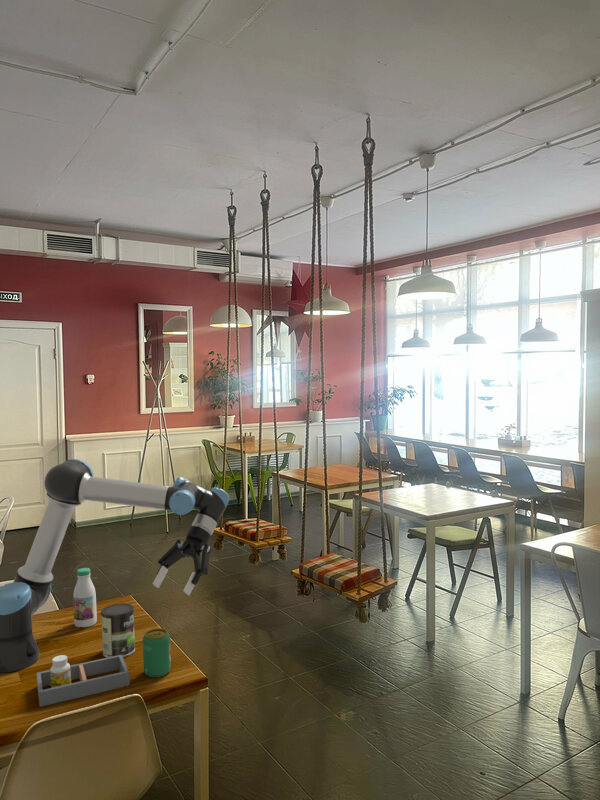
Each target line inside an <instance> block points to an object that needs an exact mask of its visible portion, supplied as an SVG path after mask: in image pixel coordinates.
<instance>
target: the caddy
mask: <svg viewBox="0 0 600 800" xmlns="http://www.w3.org/2000/svg"><path fill="white" fill-rule="evenodd" d="M70 670H71V681H74V680H78V679H79V681H76V682H71V684H67V685H62V686H58V687H54V688H51V687H50V688H46V689H43V687H47V686H51V676H50V669H48V670H43V671H38V672H36V683H37V684H36V685H37V686H36V687H37V695H38V703H39V704H38V705H39V707H40V708H41V707H44V706H49V705H53V704H58V703H62V702H65V701H70V700H74V699H75V700H76V699H79V698H83V697H88V696H91V695H95V694H100V693H104V692H108V690H109V691H113V690H117V689H120V688H119V687H121V688H124V686H126V687H128V685H131V684H130V671H129V670H130V669H128V666H127V664H126V661H125V660H124V657H123V656H122V655H117V656H113V657H108V658H106V657H105V658H100V659H95V660H90V661H85V662H81V663H75V664H72V665H70ZM114 670H115V671H119V672H116V673H113V674H112V673H111V674H106V675H103V676H98V677H94V678H91V679H88V678H87V677H92V676H97V675H100V674H101V675H102V674H105V673H110V672H113V671H114ZM116 688H117V689H116ZM112 689H113V690H112Z"/></svg>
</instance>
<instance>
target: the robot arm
mask: <svg viewBox="0 0 600 800" xmlns="http://www.w3.org/2000/svg"><path fill="white" fill-rule="evenodd" d="M43 482H44V483H43V484H44V489H45V491H46V497H47V498H48V500H49V501H48V503H47V506H46V507H45V510H44V513H43V517H42V518H41V521H40V524H39V527H38V529H37V532H36V535H35V537H34V540H33V543H32V545H31V548H30V550H29V554H28V555H27V559H26V562H25V564H24V565H23V566H20V567H19V568H18V569H17V572H16V573H15V574H16V575H15V578H14V580H13V581H12V582H9V583H5V584H4V585H1V586H0V673H10V672H16V671H20V670H22V669H25V668H27V667H29V666H32V665H34V664H35V663H36V662H37V661H38V660H39V659H40V648H39V645H38V644H37V641H36V638H35V636H34V634H33V633H34V632H33V615H34V614H35V613H37V611H38V610H39V609H40V608H41V607H42V606H43V605H44V604H45V603H46V602H47V601H48V599H49V597H50V595H51V593H52V582H53V580H54V575H53V573H52V570H53V567H54V564H55V561H56V558H57V556H58V553H59V551H60V548H61V545H62V543H63V540H64V538H65V535H66V532H67V529H68V526H69V524H70V521H71V518H72V515H73V513H74V511H75V508H76V507H78V506H81V504H82V503H84V502H86V501H89V502H90V501H91V502H99V503H106V504H107V503H108V504H115V505H123V506H130V507H131V506H132V507H138V508H146V509H155V510H162V511H168V512H169V511H170V512H173V513H174V514H175V515H179V516H183V515H187V514H188V513H190V512H191V511H192V510H193V509H194V510H196V511H198V513H197V514H196V516H195V518H194V520H193V522H192V523H191V526H190V528H189V529H188V531H187V533H186V534H185V537H186V539H185V541H181V540H180V539H177V540H176V542H175V543H174V544H173V546H171V548H170V549H169V550H167V552H166V553H164V555H162V557H161V558H159V559H158V560H157V563H158V564H159V566H160V567H159V569H158V570H157V571H156V572H157V573H156V576H155V578H154V580H153V582H152V585H153V586H154V587H155V588H156V589H159V588H160V587H161V584H162V583H163V581H164V579H165V577H166V576H167V575H168V574H167V573H168V572H169V568H170V567H172V566H173V565H175V564H176V563H177V562H178V561H180V560H181V559H182V558H183V559H184V558H185V557H187V558H192V559H193V565H194V571H192V572H191V575H190V577H189V578H188V580H187V582H186V584H185V586H184V588H183V590H182V592H184V594H186V596H190V595H191V593H192V592H193V589H194V587H195V586H196V585H197V584H198V583H199V580H200V578H201V577H202V576H207V575H208V574H209V562H210V555H211V552H212V547H210V546H209V544H208V543H209V541H210V540H211V538H212V537H211V536H213V533H214V532H215V530H216V527H217V526H218V524H219V522H220V520H221V517H222V516H223V514H224V512H225V511H226V508H227V506H228V504H229V502H230V495H229V494H228V492H227V491H225V490H224V489H222V488H220V487H217V486H214V487H211V488H210V489H209V490H208V489H206V488H204V487H202V486H200V485H198V484H196V483H194V482H192V481H191V480H190V479H187V478H185V477H183V476H177V478H176V479H175V481H174V483H173V484H172V486H169V485H161V484H159V485H158V484H152V483H144V482H138V481H129V480H122V479H114V478H107V477H97V476H94V471H93V469H92V467H91V466H90V465H89V463H88V462H87V461H84V460H83V459H82V460H81V459H78V458H74V459H73V458H71V459H67V460H65V461H64V462H62V463H59V464H57V465H55V466H53V467H51V468H50V469H49V470H48V472H47V473H46V474H45V477H44V481H43Z"/></svg>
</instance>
